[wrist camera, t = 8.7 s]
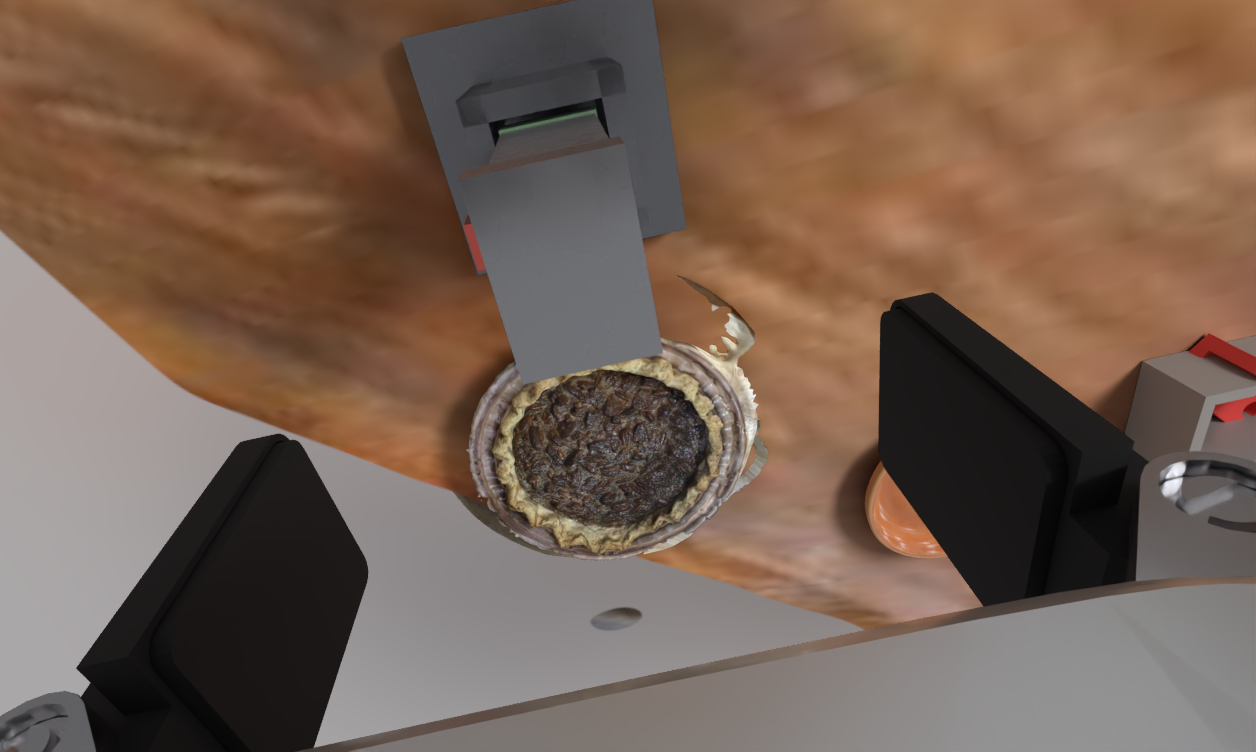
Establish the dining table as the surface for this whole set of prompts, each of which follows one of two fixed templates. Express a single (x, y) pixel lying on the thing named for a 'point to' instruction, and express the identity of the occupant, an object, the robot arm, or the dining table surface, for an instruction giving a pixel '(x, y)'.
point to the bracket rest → (1192, 405)
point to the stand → (552, 93)
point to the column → (563, 246)
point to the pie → (616, 449)
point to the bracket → (1236, 357)
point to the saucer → (897, 519)
